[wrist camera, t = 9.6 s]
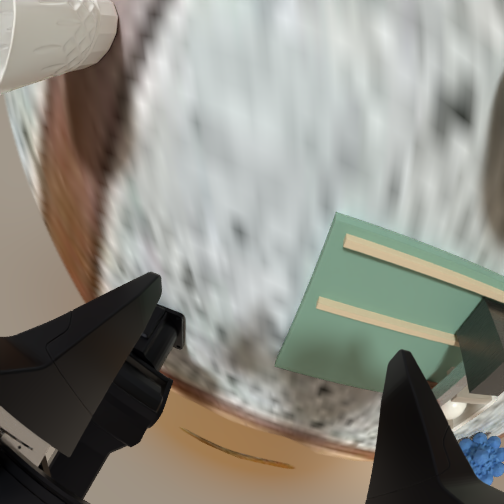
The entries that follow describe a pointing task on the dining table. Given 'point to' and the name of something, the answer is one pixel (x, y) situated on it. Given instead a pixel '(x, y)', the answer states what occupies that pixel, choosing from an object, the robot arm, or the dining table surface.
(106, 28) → the white cup
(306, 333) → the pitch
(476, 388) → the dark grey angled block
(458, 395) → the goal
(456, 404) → the ball
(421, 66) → the dining table surface
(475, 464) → the grapes
